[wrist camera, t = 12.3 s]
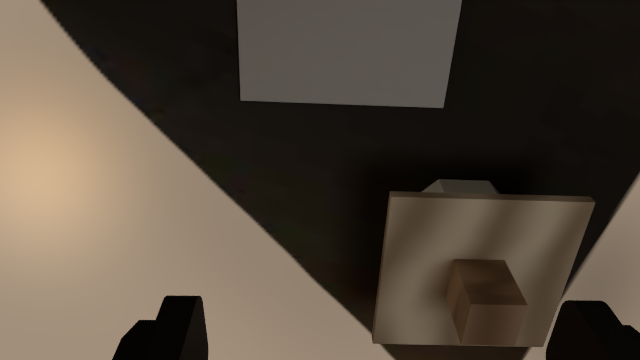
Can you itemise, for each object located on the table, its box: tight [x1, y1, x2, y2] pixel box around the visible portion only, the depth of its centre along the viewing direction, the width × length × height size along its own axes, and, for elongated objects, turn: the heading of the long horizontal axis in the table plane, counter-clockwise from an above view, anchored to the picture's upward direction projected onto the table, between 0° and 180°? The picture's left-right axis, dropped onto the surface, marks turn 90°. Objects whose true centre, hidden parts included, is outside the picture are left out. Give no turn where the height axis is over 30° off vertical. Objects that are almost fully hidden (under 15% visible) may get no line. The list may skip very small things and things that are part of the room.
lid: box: [372, 191, 595, 347], centre depth 38 cm, size 15×15×6 cm
